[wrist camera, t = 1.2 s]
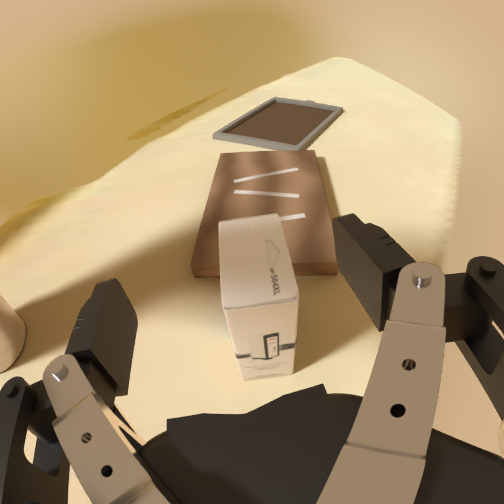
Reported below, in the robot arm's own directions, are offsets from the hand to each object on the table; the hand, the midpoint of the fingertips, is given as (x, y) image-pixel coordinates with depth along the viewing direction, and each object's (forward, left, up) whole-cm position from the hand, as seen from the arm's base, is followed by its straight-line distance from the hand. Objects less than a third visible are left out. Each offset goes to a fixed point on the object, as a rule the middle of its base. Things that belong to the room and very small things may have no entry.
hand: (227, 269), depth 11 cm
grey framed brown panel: (+4, +62, -19) cm, 65 cm away
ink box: (0, +8, -19) cm, 20 cm away
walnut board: (0, +29, -19) cm, 34 cm away
